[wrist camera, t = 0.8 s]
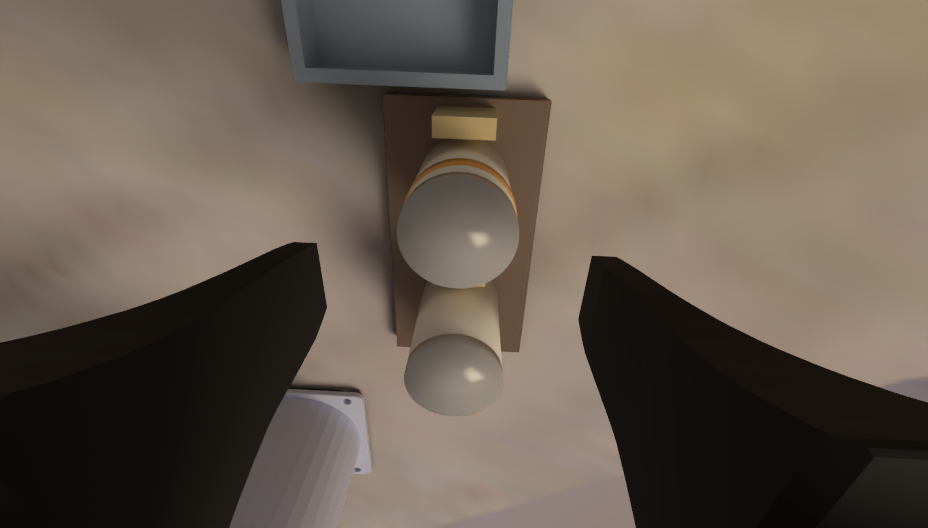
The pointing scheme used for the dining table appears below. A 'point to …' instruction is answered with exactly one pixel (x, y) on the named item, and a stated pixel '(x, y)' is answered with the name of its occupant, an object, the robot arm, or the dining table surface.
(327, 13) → the tray
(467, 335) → the cylinder
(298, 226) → the dining table surface
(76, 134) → the dining table surface
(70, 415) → the robot arm
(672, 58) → the dining table surface
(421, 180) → the cylinder
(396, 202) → the fuse holder
